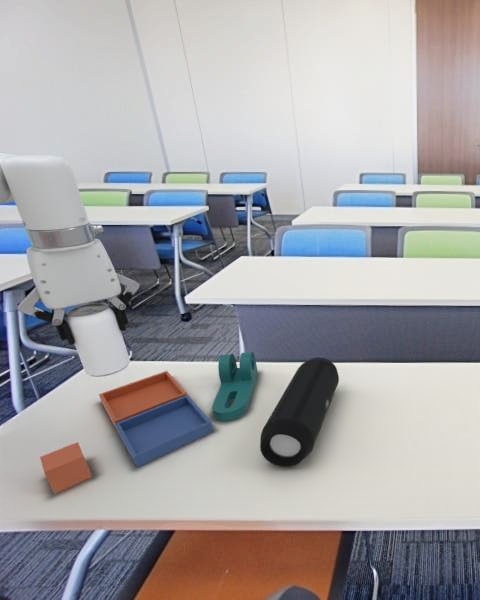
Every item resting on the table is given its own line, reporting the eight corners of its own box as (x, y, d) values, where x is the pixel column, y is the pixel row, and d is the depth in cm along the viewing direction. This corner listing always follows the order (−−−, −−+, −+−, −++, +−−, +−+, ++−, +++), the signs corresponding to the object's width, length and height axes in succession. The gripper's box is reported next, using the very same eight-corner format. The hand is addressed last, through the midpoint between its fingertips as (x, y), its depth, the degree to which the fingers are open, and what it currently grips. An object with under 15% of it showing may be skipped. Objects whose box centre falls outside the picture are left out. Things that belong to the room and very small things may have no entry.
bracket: (229, 376, 101) (223, 349, 98) (258, 373, 103) (253, 346, 100) (210, 423, 85) (202, 393, 82) (244, 418, 87) (238, 389, 84)
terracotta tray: (117, 431, 82) (113, 421, 81) (102, 403, 90) (98, 394, 89) (188, 402, 91) (186, 393, 90) (169, 379, 99) (167, 370, 98)
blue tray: (137, 467, 74) (133, 457, 73) (118, 433, 81) (114, 423, 80) (213, 431, 83) (211, 422, 82) (190, 403, 91) (187, 394, 90)
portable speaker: (312, 471, 75) (307, 429, 71) (259, 470, 74) (250, 428, 70) (342, 389, 98) (339, 354, 94) (301, 388, 98) (297, 353, 94)
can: (116, 355, 77) (97, 299, 73) (138, 363, 75) (120, 305, 71) (77, 372, 72) (54, 312, 67) (100, 381, 70) (78, 320, 65)
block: (54, 494, 68) (44, 472, 66) (50, 478, 71) (39, 456, 69) (92, 477, 71) (83, 455, 69) (86, 462, 74) (77, 441, 72)
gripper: (122, 225, 72) (148, 314, 79) (-19, 241, 60) (26, 344, 67) (134, 232, 68) (160, 326, 75) (-16, 252, 56) (32, 361, 63)
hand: (97, 334), depth 71 cm, fingers closed on can, 6 cm apart
